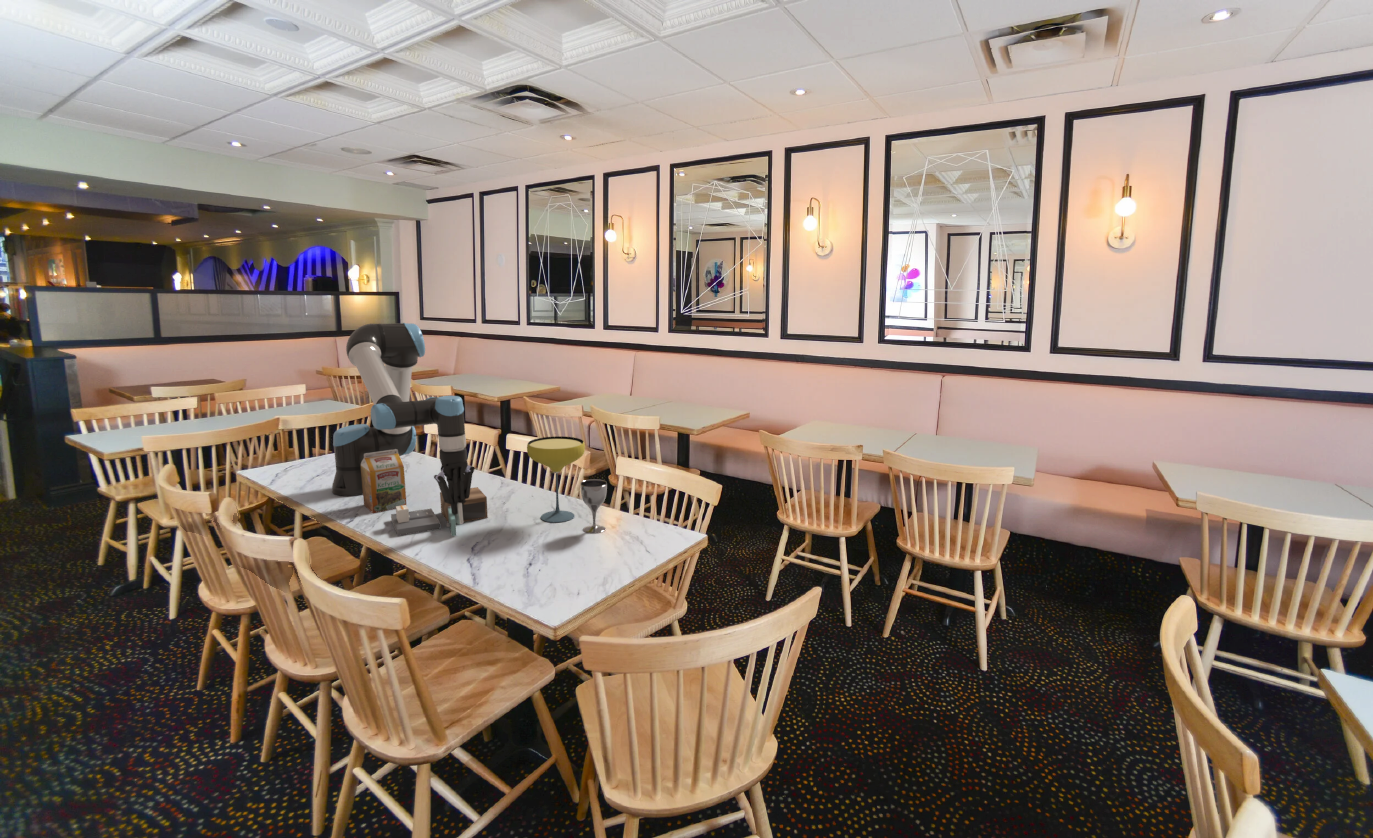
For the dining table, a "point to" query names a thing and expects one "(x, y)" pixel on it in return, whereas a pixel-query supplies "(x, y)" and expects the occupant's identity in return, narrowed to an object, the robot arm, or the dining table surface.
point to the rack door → (451, 521)
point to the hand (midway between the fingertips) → (458, 522)
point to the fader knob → (402, 513)
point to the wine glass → (593, 500)
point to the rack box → (469, 506)
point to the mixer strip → (416, 522)
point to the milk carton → (383, 481)
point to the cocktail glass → (556, 464)
